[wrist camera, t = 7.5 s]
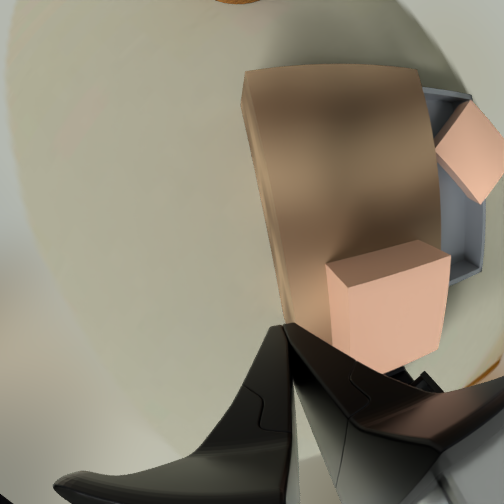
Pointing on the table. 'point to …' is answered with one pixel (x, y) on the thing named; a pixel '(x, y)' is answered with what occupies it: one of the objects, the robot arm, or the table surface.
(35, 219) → the table surface
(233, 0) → the disposable coffee cup
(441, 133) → the tile
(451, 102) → the tray
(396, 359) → the tile
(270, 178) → the brown wooden block
